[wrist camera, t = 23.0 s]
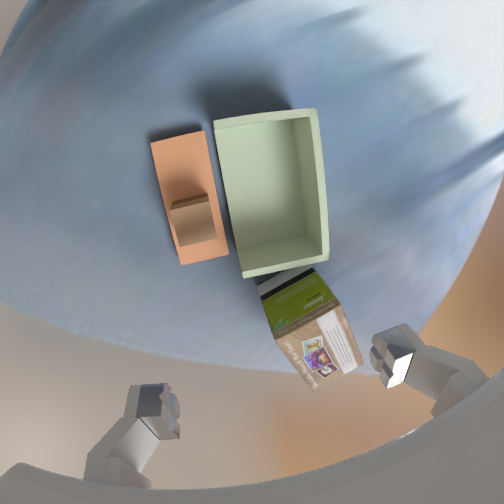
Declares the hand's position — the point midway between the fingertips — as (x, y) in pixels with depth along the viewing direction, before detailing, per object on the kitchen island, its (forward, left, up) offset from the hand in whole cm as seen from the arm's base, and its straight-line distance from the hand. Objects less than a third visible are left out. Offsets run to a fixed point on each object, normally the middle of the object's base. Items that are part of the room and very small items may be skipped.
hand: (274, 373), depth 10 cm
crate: (0, +6, -33) cm, 34 cm away
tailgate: (0, -1, -32) cm, 32 cm away
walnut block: (+2, -5, -31) cm, 32 cm away
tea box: (+22, +9, -33) cm, 41 cm away
